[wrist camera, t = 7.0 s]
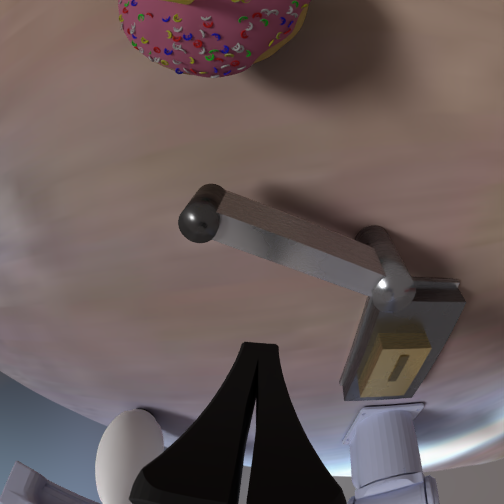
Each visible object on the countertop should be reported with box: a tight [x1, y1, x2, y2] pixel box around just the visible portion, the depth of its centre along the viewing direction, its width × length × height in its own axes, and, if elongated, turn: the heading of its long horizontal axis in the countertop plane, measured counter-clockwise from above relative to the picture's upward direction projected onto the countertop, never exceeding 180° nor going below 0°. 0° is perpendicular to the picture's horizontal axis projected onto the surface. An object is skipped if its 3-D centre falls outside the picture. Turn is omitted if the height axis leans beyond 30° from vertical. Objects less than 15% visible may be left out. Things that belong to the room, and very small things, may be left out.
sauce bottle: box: [95, 409, 164, 504], centre depth 28 cm, size 8×8×18 cm
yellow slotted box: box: [358, 333, 432, 397], centre depth 21 cm, size 6×4×2 cm, turn 179°
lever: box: [178, 184, 416, 313], centre depth 17 cm, size 12×2×6 cm, turn 70°
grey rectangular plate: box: [339, 277, 466, 401], centre depth 23 cm, size 13×7×2 cm, turn 179°
